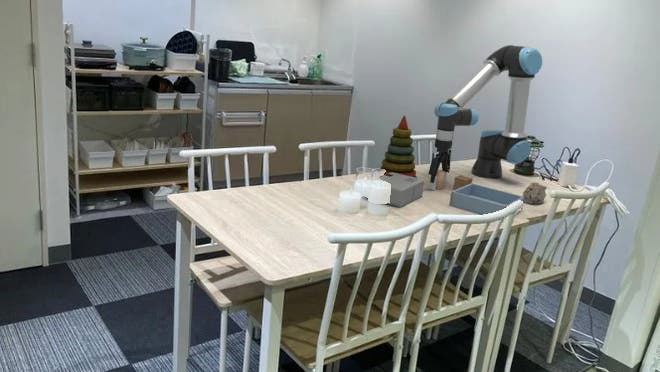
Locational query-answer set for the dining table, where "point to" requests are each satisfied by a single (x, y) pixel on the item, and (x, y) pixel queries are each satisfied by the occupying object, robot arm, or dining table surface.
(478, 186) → the tote
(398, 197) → the projector
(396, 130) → the toy
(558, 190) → the dining table surface
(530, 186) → the rock
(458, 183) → the cube
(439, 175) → the cylinder
